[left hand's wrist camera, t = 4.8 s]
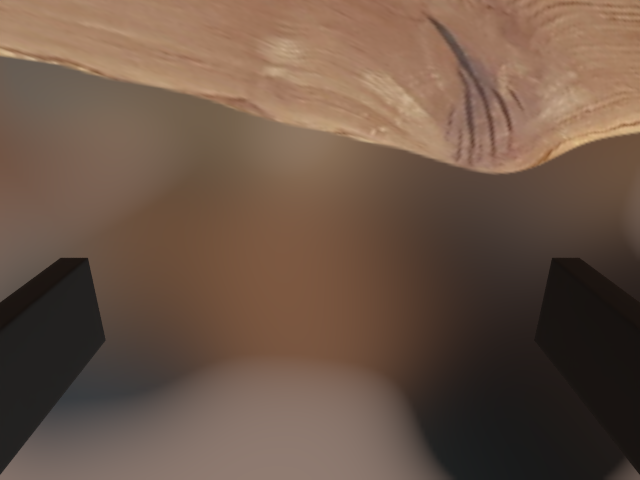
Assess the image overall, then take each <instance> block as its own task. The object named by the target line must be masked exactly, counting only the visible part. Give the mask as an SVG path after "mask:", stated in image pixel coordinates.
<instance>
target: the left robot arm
mask: <svg viewBox="0 0 640 480" xmlns="http://www.w3.org/2000/svg"><path fill="white" fill-rule="evenodd" d="M104 342H105V335H104V331H103V326H102V321H101V317H100V312H99V308H98V303H97V298H96V294H95V289H94V284H93V280H92V275H91V271H90V266H89V261H88V258H60V259H59V260H57V261H56V262H54V263H53V264H52V265H50V266H49V267H48V268H46V269H45V270H44V271H42V272H41V273H40V274H38V275H37V276H36V277H34V278H33V279H31V280H30V281H29V282H27V283H26V284H25V285H23V286H22V287H21V288H19V289H18V290H17V291H15V292H14V293H12V294H11V295H10V296H8V297H7V298H6V299H4V300H3V301H2V302H0V474H1V473H2V472H3V470H4V469H5V468H6V467H7V465H8V464H9V463H10V462H11V460H12V459H13V458H14V456H15V455H16V454H17V453H18V451H19V450H20V449H21V447H22V446H23V445H24V444H25V442H26V441H27V440H28V438H29V437H30V436H31V435H32V433H33V432H34V431H35V430H36V428H37V427H38V426H39V425H40V423H41V422H42V421H43V419H44V418H45V417H46V416H47V414H48V413H49V412H50V410H51V409H52V408H53V407H54V405H55V404H56V403H57V402H58V400H59V399H60V398H61V396H62V395H63V394H64V393H65V391H66V390H67V389H68V387H69V386H70V385H71V384H72V382H73V381H74V380H75V379H76V377H77V376H78V375H79V373H80V372H81V371H82V370H83V368H84V367H85V366H86V364H87V363H88V362H89V361H90V359H91V358H92V357H93V356H94V354H95V353H96V352H97V350H98V349H99V348H100V347H101V345H102V344H103V343H104ZM535 342H536V343H537V344H538V345H539V347H540V348H541V349H542V351H543V352H544V353H545V354H546V356H547V357H548V358H549V359H550V361H551V362H552V363H553V364H554V366H555V367H556V368H557V370H558V371H559V372H560V373H561V375H562V376H563V377H564V379H565V380H566V381H567V382H568V384H569V385H570V386H571V388H572V389H573V390H574V391H575V393H576V394H577V395H578V396H579V398H580V399H581V400H582V401H583V403H584V404H585V405H586V407H587V408H588V409H589V410H590V412H591V413H592V414H593V416H594V417H595V418H596V419H597V421H598V422H599V423H600V425H601V426H602V427H603V428H604V430H605V431H606V432H607V433H608V435H609V436H610V437H611V439H612V440H613V441H614V442H615V444H616V445H617V446H618V447H619V449H620V450H621V451H622V453H623V454H624V455H625V456H626V458H627V459H628V460H629V461H630V463H631V464H632V465H633V467H634V468H635V469H636V470H637V472H638V473H639V474H640V302H638V301H637V300H636V299H634V298H633V297H632V296H630V295H629V294H627V293H626V292H625V291H623V290H622V289H621V288H619V287H618V286H617V285H615V284H614V283H613V282H611V281H610V280H609V279H607V278H606V277H604V276H603V275H602V274H600V273H599V272H598V271H596V270H595V269H594V268H592V267H591V266H590V265H588V264H587V263H585V262H584V261H583V260H581V259H580V258H552V261H551V266H550V270H549V275H548V280H547V284H546V289H545V294H544V298H543V303H542V308H541V312H540V317H539V321H538V326H537V331H536V335H535Z"/></svg>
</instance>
